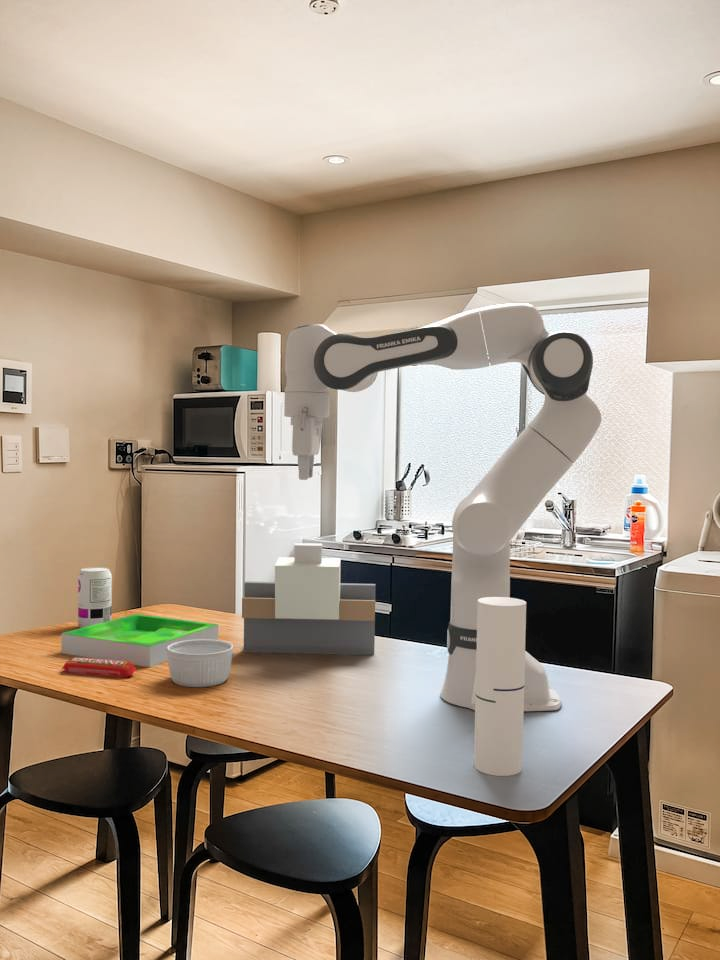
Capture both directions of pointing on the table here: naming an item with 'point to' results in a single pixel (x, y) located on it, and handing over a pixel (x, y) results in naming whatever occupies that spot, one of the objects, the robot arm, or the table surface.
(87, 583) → the supplement can
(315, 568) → the off-white handled block
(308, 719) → the table surface
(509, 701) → the cylindrical container
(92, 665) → the candy bar
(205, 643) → the ramekin
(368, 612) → the wall board
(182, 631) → the tray
